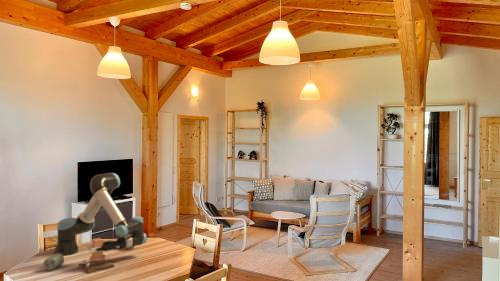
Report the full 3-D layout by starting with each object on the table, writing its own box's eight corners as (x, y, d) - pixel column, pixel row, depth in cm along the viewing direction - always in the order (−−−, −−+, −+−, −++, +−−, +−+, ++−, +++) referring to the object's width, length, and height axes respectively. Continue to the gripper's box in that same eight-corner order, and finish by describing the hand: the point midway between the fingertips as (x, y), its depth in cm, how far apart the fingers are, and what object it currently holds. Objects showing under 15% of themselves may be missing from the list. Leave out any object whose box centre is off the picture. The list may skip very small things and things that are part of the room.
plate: (78, 266, 231) (78, 264, 231) (103, 260, 243) (103, 258, 243) (88, 273, 220) (88, 271, 220) (113, 267, 231) (113, 264, 231)
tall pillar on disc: (87, 258, 231) (87, 239, 231) (101, 255, 238) (101, 236, 238) (93, 262, 225) (93, 242, 225) (107, 258, 232) (107, 239, 231)
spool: (55, 267, 220) (51, 251, 223) (41, 273, 221) (38, 257, 224) (70, 265, 233) (66, 250, 236) (57, 271, 234) (53, 256, 237)
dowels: (81, 265, 229) (81, 260, 229) (85, 264, 230) (85, 260, 230) (86, 269, 223) (86, 264, 223) (90, 268, 225) (90, 263, 225)
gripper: (130, 251, 238) (94, 259, 221) (118, 244, 251) (83, 252, 234) (130, 239, 238) (95, 246, 221) (118, 234, 251) (83, 240, 234)
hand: (89, 249), depth 228 cm, fingers closed on tall pillar on disc, 5 cm apart
